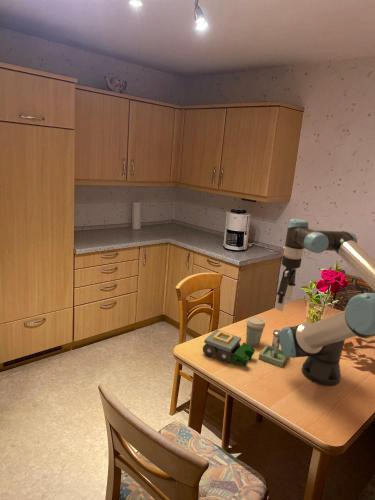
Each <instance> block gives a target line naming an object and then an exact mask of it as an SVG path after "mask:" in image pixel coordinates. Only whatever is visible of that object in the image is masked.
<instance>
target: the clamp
mask: <svg viewBox="0 0 375 500" xmlns="http://www.w3.org/2000/svg"><path fill="white" fill-rule="evenodd" d="M255 352H256V348H255V347H252V346H249V345H248V344H247V343H246V341H244V342H243V343H242V344H240V347H239V348H238V349H237V351H236V352H235V353H234V354H233V357H232V359H231V360H230V361H229V362H230V363H231V364H232V365H234V366H235V365H236V364H237V363H239V364H240V365H242V366H243V367H246V366H247V365H248V362H251V359H252V357H253V356H254V354H255Z"/></svg>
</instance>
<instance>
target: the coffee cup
mask: <svg viewBox="0 0 375 500" xmlns="http://www.w3.org/2000/svg"><path fill="white" fill-rule="evenodd" d="M265 327H266V323H265V320H264V319H263V318H260V317H258V316H250V317H248V319H247V320H246V333H245V334H246V335H245V336H246V337H245V338H246V339H245V343H246V344H248V345H249V346H251V347H253V348H255V347H256V348H257V347H259V345H260V342H261V339H262V335H263V332H264V328H265Z"/></svg>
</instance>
